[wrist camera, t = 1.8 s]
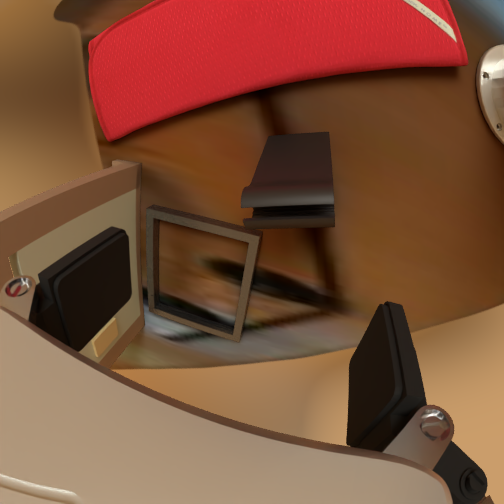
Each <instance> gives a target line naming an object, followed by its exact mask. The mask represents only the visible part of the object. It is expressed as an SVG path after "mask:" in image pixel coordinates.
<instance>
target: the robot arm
mask: <svg viewBox="0 0 504 504" xmlns="http://www.w3.org/2000/svg"><path fill="white" fill-rule="evenodd" d="M483 76H484V77H483ZM476 87H477V94H478V99H479V103H480V106H481V110H482V112H483V115H484V117H485V119H486V121H487V123H488V125H489V127H490V129H491V130H492V132H493V133H494V134H495V136H496V137H497V138H498V139H499V140H500V141H501V143H502V144H503V145H504V45H498V46H495V47H492V48H490V49H489V50H487V51H486V52H485V53H484V54H483V56H482V57H481V59H480V62H479V64H478V68H477V74H476ZM38 278H39V283H38V284H37V285H36V281H35V279H34V278H32V277H31V276H27V275H22V276H17V277H14V278H12V279H10V280H9V281H7V282H6V283H5V284H4V286H3V288H2V290H1V293H0V504H494V503H493V501H492V499H491V497H490V495H489V496H487V497H485V493H486V490H487V478H486V476H485V473H484V472H483V470H482V469H481V468H480V467H479V466H478V465H477V464H476V463H475V462H474V461H473V460H471V459H470V458H469V457H468V456H467V455H466V454H465V453H464V452H463V451H462V450H461V449H460V448H459V447H458V446H457V445H456V444H455V443H454V442H452V441H451V439H452V437H453V434H454V424H453V421H452V419H451V417H450V415H449V414H448V413H447V412H446V411H445V410H444V409H442V408H440V407H438V406H435V405H427V403H426V397H425V392H424V387H423V382H422V377H421V372H420V368H419V364H418V359H417V355H416V351H415V348H414V346H413V342H412V338H411V334H410V331H409V327H408V323H407V320H406V316H405V313H404V309H403V306H402V305H400V304H396V303H392V302H388V301H387V302H385V303H384V305H383V304H380V305H379V306H378V308H377V310H376V312H375V314H374V316H373V318H372V320H371V322H370V324H369V326H368V328H367V330H366V332H365V334H364V336H363V338H362V339H361V341H360V343H359V345H358V347H357V349H356V351H355V352H354V354H353V356H352V358H351V360H350V364H349V400H348V423H347V438H346V443H347V445H348V446H342V445H336V444H330V443H324V442H320V441H314V440H309V439H305V438H300V437H296V436H291V435H287V434H283V433H278V432H274V431H270V430H267V429H263V428H259V427H255V426H252V425H248V424H245V423H241V422H238V421H235V420H232V419H228V418H225V417H222V416H219V415H216V414H213V413H210V412H208V411H205V410H202V409H199V408H196V407H194V406H191V405H188V404H185V403H183V402H180V401H178V400H175V399H173V398H171V397H168V396H166V395H163V394H161V393H158V392H156V391H154V390H152V389H150V388H147V387H145V386H143V385H141V384H138V383H136V382H134V381H132V380H130V379H128V378H125V377H124V376H122V375H120V374H118V373H116V372H114V371H112V370H110V369H108V368H106V367H104V366H102V365H100V364H98V363H97V362H95V361H93V360H91V359H89V358H88V357H86V356H84V355H82V354H80V353H79V352H80V351H81V350H82V349H83V348H84V347H85V346H86V345H87V344H88V343H89V342H90V341H91V340H92V338H93V337H94V336H95V335H96V334H97V333H98V332H99V331H100V330H101V329H102V328H103V327H104V326H105V325H106V324H107V323H108V322H109V321H110V319H111V318H112V317H113V316H114V315H115V314H116V313H117V312H118V311H119V310H120V309H121V308H122V307H123V306H124V305H125V304H126V303H127V302H128V301H129V300H130V298H131V296H132V283H131V269H130V250H129V236H128V235H127V234H126V231H125V230H124V229H120V228H117V227H113V226H111V227H109V228H107V229H106V230H104V231H102V232H101V233H99V234H97V235H96V236H94V237H93V238H91V239H89V240H88V241H86V242H85V243H83V244H81V245H80V246H78V247H77V248H75V249H74V250H72V251H71V252H69V253H68V254H66V255H65V256H63V257H62V258H60V259H59V260H57V261H56V262H54V263H53V264H51V265H50V266H48V267H47V268H46V269H44V270H43V271H41V272H40V273H38ZM349 446H350V447H349Z"/></svg>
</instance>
